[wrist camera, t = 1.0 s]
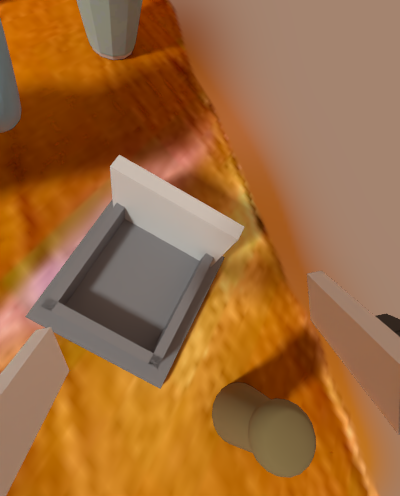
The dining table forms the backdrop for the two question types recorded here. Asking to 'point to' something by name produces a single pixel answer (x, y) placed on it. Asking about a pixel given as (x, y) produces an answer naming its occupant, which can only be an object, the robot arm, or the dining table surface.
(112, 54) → the disposable coffee cup
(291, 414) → the cork
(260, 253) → the dining table surface
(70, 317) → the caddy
